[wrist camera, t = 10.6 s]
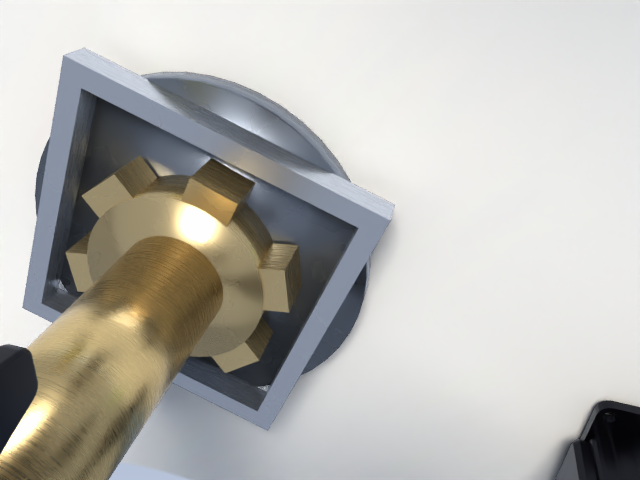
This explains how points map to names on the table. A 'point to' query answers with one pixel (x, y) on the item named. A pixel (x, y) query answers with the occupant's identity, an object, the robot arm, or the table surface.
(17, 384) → the robot arm
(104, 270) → the planet gear
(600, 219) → the table surface
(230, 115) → the carrier plate
